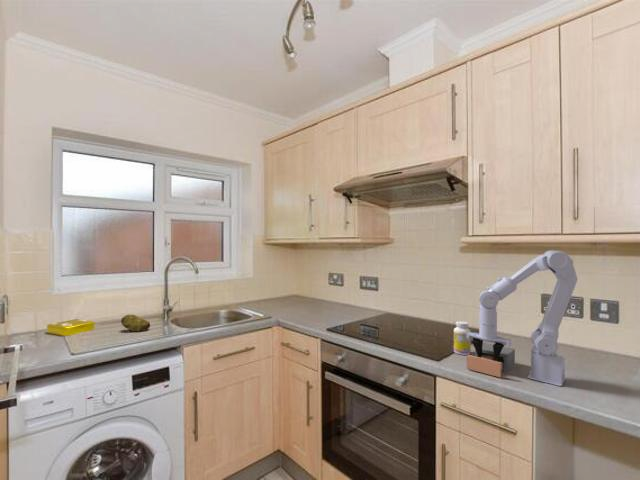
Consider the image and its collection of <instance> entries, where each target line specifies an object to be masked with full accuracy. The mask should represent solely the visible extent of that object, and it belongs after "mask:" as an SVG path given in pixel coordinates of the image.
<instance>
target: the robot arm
mask: <svg viewBox="0 0 640 480" xmlns="http://www.w3.org/2000/svg"><path fill="white" fill-rule="evenodd" d="M574 266H575V265H574V260H573V259H572V258H571V257H570V255H569V254H567V253H566V252H565V251H562V250H554V249H549V250H546V251H545V252H544V253H543V254H540V255H538V256H536V257H535V258H534V259H532V260H530V261H529V262H528V263H526V264H525V265H523V267H522V268H520V269H519V270H517V271H516V272H515V273H514V274H512V275H511V276H510V277H508V276H503V278H502V277H499V278H498V279H497V281H496V282H495V283H494V284H492V285H491V286H488V287H486V289H487V290H483V291H482V292H481V293H480V294H479V296H478V301H479V302H480V304H479V312H478V313H479V315H478V316H479V319H478V320H479V321H478V322H479V323H478V324H479V325H478V327H479V329H478V330H479V332H467V338H471V345H472V346H473V348H474V349H475V350H476V352H477V356H478V357H480V358H481V355H482V345H483V343H484V342H486V343H491V344H492V343H493V344H492V345H493V351H494V361H497V362H498V358H499V355H500V352H501V350H502V349H503V347H506V346H507V347H511V346H512V340H511V339H507V338H504V337H500V336H498V312H497V306H498V304H499V301H503V299H505V298H507V297H508V296H509V295H511V294H512V293H514V292H515V291H516V290H517V288H518V287H517V286H518V284H520V283H522V282H523V281H524V280H526V279H527V278H530V276H532V275H534V274H535V273H536V272H539V271H540V272H541V271H548V270H549V271H551V272H552V274H553V275H554V276H555V278H556V279H557V280H556V283H555V285H554V289H553V291H552V294H551V296H550V298H549V301H548V304H547V307H546V310H545V311H544V314H543V317H542V318H541V319H542V320H541V322H540V323H538V325H537V328H536V329H535V330H534V331H533V332H532V333H531V334H530V341H531V343H532V344H533V346H532V347H531V349H530V372H529V374H528V375H527V378H528V379H531V380H533V381H534V380H535V381H538V382H542V383H547V384H550V385H554V386H559V387H561V386H563V385H564V383H565V380H566V374H565V373H566V371H565V369H566V368H565V366H566V363H565V362H566V361H565V357H564V355H563V356H562V355H559V354H558V353H557V351H558V348H559V345H558V344H559V343H558V339H559V328H560V325H561V324H562V321H563V319H564V316H565V314H566V310H567V308H568V305H569V303H570V301H571V297H572V295H573V292H574V290H575V287H576V285H577V283H578V275H577V273H576V270H575V267H574ZM475 350H474V351H475Z"/></svg>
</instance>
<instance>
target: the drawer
mask: <svg viewBox="0 0 640 480" xmlns="http://www.w3.org/2000/svg"><path fill="white" fill-rule="evenodd" d="M466 369H467V370H471V371H474V372H477V373H478V372H479V373H481V374H486V375H489V376H492V377H493V376H494V377H497V378H502V370H503V371H504V363H502V362H497V361H493V360H489V359H484V358H480V357H476V356H475V355H471V354H469V355H466Z"/></svg>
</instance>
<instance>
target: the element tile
mask: <svg viewBox="0 0 640 480" xmlns="http://www.w3.org/2000/svg"><path fill="white" fill-rule="evenodd" d="M93 330H95V321H94V320H93V321H92V320H86V319H81V318H80V319H79V318H76V319H70V320H64V321H59V322H54V323H49V324H47V325H46V334H48V335H54V336H59V337H68V336H72V335H76V334H81V333H87V332H89V331H93Z"/></svg>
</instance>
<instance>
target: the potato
mask: <svg viewBox="0 0 640 480" xmlns="http://www.w3.org/2000/svg"><path fill="white" fill-rule="evenodd" d="M120 323H121V325H122V327H124V328H125V329H128V330H130V331H131V332H143V331H146V330H148V329H149V328H150V327H151V323H150V321H149V320H147V319H144V318H142V317H140V316H138V315H135V314H127V315H124V316H123V317H122V318H121V320H120Z"/></svg>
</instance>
